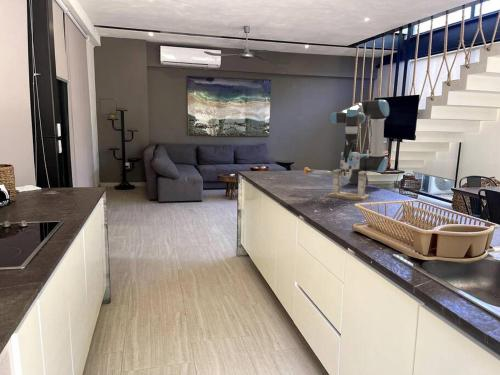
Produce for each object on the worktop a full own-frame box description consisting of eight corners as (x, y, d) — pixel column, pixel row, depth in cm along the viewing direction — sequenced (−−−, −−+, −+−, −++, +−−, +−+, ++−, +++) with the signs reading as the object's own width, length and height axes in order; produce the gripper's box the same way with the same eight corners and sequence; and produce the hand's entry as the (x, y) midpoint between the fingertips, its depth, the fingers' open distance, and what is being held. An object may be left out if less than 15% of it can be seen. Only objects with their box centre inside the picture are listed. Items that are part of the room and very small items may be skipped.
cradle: (335, 193, 262) (336, 168, 259) (369, 197, 249) (371, 170, 245) (327, 196, 251) (328, 170, 248) (362, 201, 237) (364, 173, 234)
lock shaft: (306, 173, 268) (306, 166, 267) (338, 176, 254) (338, 169, 253) (303, 174, 264) (303, 167, 263) (335, 177, 250) (335, 170, 249)
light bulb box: (344, 169, 242) (345, 153, 240) (339, 168, 248) (340, 152, 246) (359, 169, 244) (360, 152, 243) (354, 167, 251) (355, 151, 249)
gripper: (352, 132, 254) (350, 164, 258) (338, 133, 235) (337, 168, 238) (363, 132, 250) (361, 165, 254) (350, 134, 230) (348, 169, 234)
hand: (349, 166), depth 246 cm, fingers closed on light bulb box, 12 cm apart
